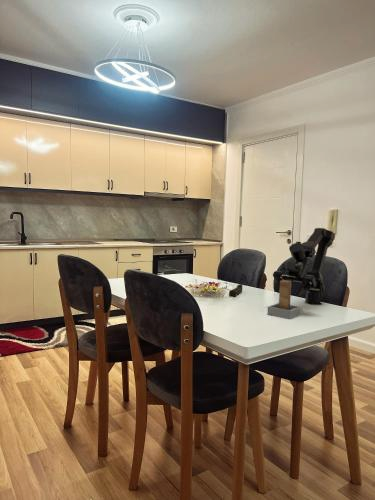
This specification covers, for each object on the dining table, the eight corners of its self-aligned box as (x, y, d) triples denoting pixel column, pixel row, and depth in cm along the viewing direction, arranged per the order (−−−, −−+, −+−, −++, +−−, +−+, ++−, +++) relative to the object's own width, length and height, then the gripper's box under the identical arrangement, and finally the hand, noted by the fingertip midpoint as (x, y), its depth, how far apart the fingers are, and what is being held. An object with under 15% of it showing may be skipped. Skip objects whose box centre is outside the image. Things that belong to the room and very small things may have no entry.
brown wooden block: (281, 311, 166) (283, 280, 165) (289, 312, 164) (291, 281, 162) (278, 312, 163) (280, 280, 162) (286, 314, 161) (287, 282, 160)
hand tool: (235, 298, 196) (236, 289, 196) (228, 297, 198) (228, 288, 198) (246, 292, 214) (246, 284, 213) (239, 291, 215) (239, 283, 215)
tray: (278, 310, 171) (278, 302, 170) (300, 314, 164) (300, 306, 164) (267, 314, 163) (267, 306, 162) (290, 319, 156) (290, 310, 156)
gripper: (275, 253, 173) (262, 280, 166) (315, 257, 161) (303, 285, 154) (282, 268, 180) (270, 295, 172) (320, 273, 168) (310, 301, 161)
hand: (287, 294), depth 165 cm, fingers open, 9 cm apart
